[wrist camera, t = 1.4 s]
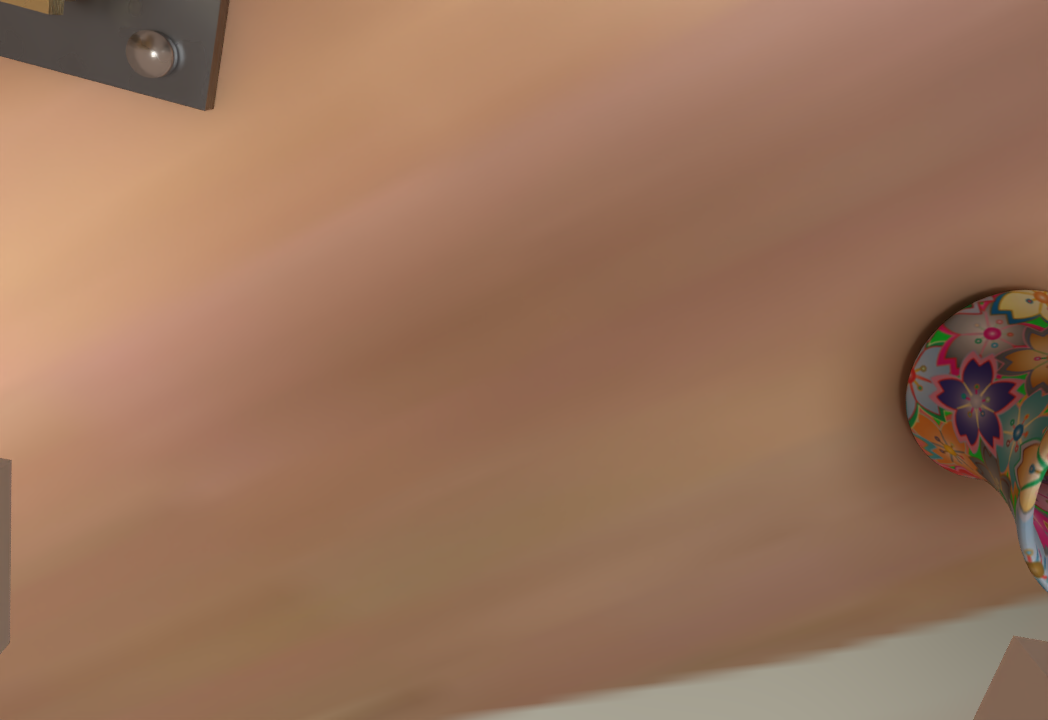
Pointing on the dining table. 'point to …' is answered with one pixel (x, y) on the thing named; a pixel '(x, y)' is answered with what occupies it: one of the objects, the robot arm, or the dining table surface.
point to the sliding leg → (41, 5)
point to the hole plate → (125, 44)
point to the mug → (991, 406)
